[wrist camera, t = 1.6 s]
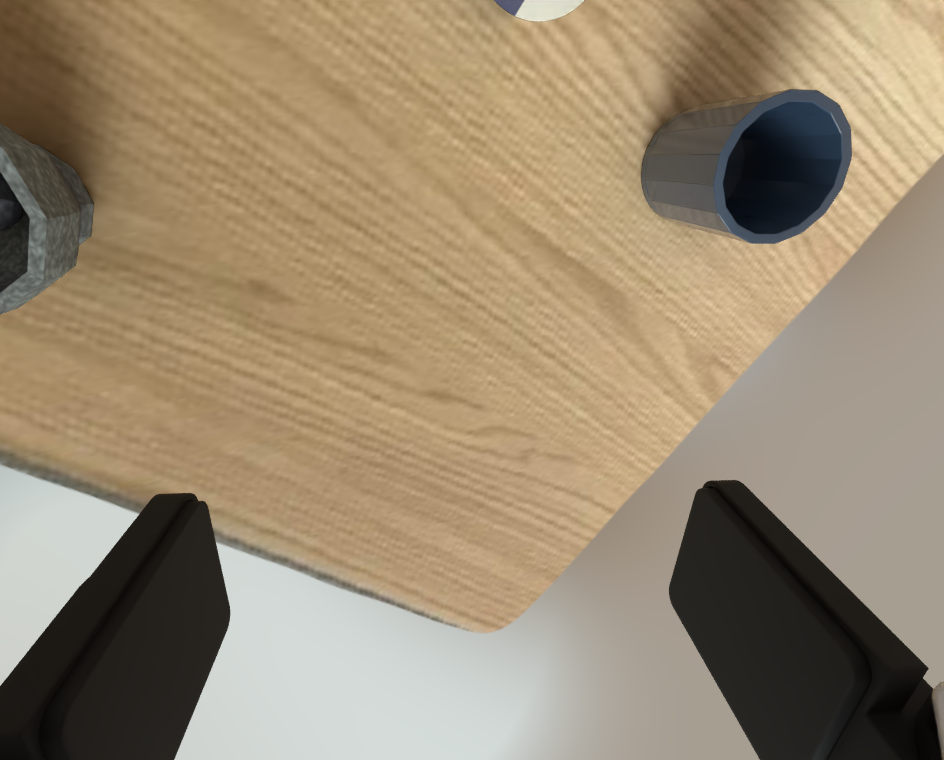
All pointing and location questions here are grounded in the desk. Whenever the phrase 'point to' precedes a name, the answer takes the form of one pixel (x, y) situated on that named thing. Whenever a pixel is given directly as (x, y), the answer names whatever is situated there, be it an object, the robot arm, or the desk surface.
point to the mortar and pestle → (37, 219)
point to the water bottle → (539, 8)
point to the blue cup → (750, 165)
